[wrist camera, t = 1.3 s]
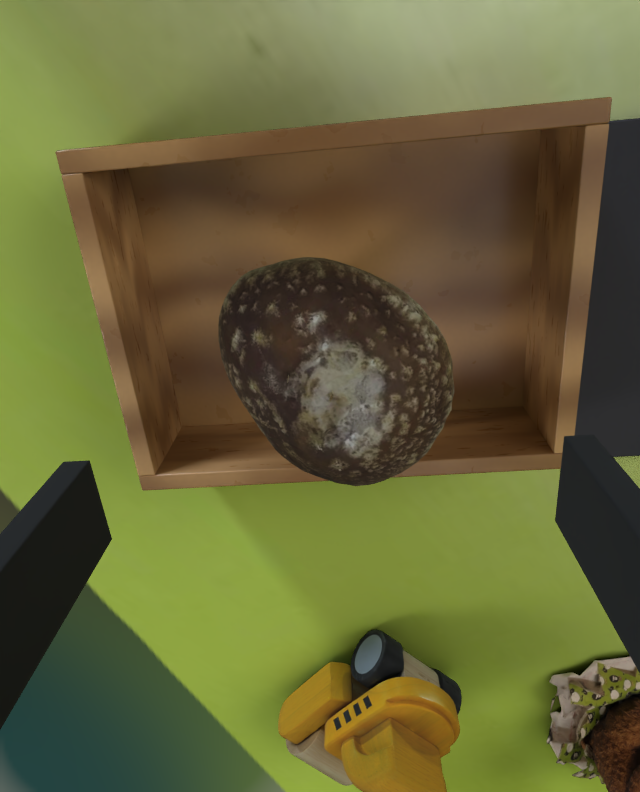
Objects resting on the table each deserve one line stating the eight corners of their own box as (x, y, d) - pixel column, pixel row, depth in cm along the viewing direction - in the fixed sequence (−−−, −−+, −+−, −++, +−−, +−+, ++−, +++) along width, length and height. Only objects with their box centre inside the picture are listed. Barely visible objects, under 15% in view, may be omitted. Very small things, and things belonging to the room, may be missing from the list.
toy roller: (273, 698, 49) (255, 836, 39) (390, 607, 44) (403, 738, 34) (349, 746, 51) (350, 887, 41) (469, 664, 46) (501, 802, 36)
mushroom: (428, 349, 35) (484, 487, 21) (293, 383, 36) (263, 534, 22) (393, 192, 31) (433, 235, 17) (244, 236, 32) (172, 309, 19)
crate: (108, 148, 31) (54, 150, 25) (560, 104, 29) (613, 96, 23) (172, 438, 38) (141, 491, 33) (535, 416, 37) (571, 468, 31)
